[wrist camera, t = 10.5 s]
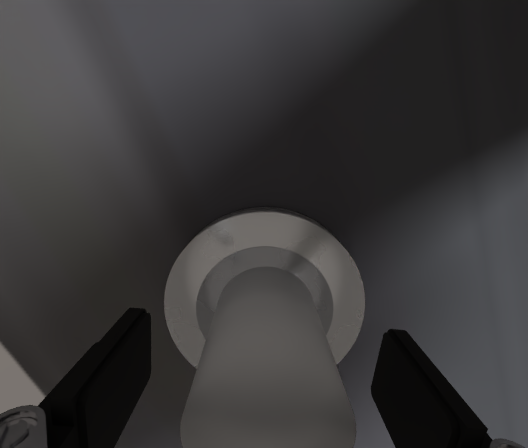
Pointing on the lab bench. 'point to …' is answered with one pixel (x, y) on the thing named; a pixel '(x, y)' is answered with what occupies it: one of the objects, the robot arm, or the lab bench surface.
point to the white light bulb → (267, 372)
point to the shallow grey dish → (263, 255)
